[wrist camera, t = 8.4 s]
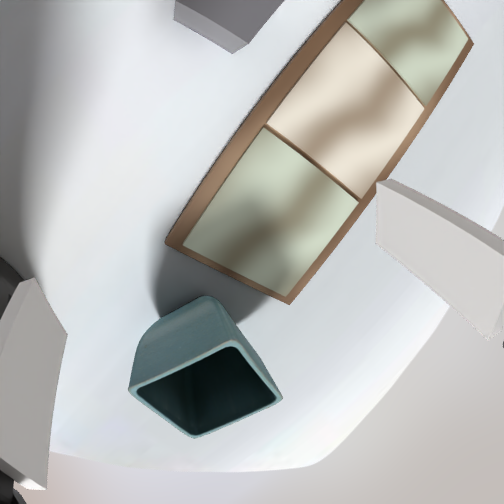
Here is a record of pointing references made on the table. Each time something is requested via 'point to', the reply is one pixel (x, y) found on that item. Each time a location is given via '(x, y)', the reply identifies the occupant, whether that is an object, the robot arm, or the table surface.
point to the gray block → (225, 19)
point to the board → (322, 142)
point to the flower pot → (200, 370)
